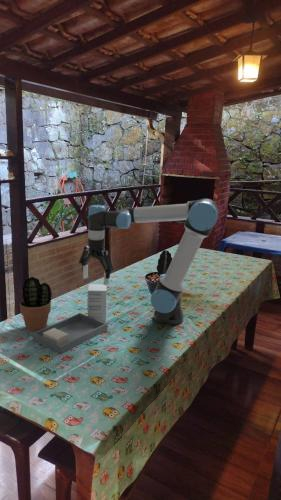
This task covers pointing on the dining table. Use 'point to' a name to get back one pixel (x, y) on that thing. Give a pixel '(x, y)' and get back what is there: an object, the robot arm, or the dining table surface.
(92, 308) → the supplement box
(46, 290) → the potted plant
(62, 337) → the beige block
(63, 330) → the grey shallow rectangular tray
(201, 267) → the dining table surface
